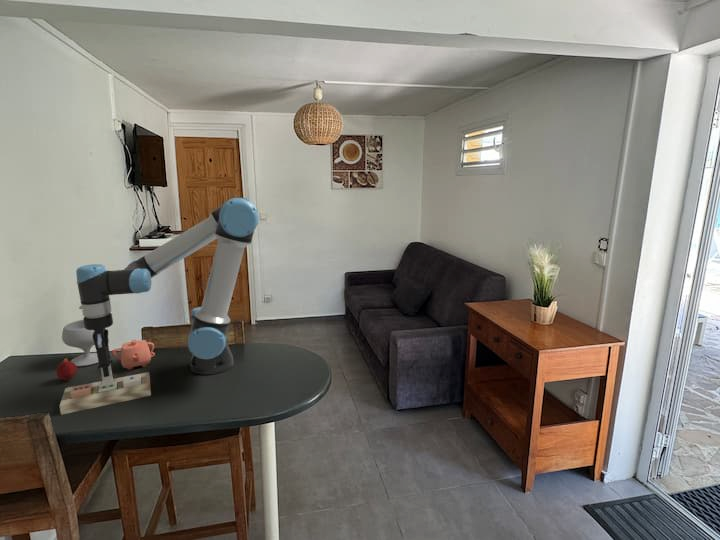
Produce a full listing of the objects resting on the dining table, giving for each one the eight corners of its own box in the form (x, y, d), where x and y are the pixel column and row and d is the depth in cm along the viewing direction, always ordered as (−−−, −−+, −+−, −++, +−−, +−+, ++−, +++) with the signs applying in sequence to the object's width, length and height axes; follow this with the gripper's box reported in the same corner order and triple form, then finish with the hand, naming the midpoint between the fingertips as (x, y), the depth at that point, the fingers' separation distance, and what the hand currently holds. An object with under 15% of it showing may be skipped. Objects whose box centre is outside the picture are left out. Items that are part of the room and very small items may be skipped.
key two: (118, 390, 136) (116, 381, 135) (117, 396, 132) (116, 387, 131) (100, 393, 134) (99, 384, 133) (99, 400, 129) (97, 391, 129)
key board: (149, 379, 143) (149, 372, 143) (150, 395, 133) (149, 387, 132) (67, 396, 132) (65, 388, 132) (61, 414, 122) (59, 405, 121)
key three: (92, 391, 132) (91, 382, 132) (91, 398, 128) (89, 389, 127) (74, 395, 130) (72, 386, 129) (72, 402, 126) (70, 393, 125)
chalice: (62, 371, 150) (55, 332, 147) (71, 356, 162) (65, 320, 159) (106, 364, 155) (101, 327, 152) (111, 350, 168) (106, 315, 165)
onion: (67, 385, 140) (64, 363, 138) (53, 383, 141) (50, 361, 139) (82, 377, 145) (79, 356, 144) (68, 375, 146) (65, 354, 145)
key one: (141, 381, 139) (140, 373, 138) (141, 388, 135) (140, 379, 134) (124, 385, 137) (123, 376, 136) (124, 391, 132) (123, 382, 132)
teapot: (137, 374, 148) (134, 349, 146) (112, 369, 151) (108, 345, 149) (161, 360, 159) (159, 337, 156) (137, 356, 162) (134, 333, 160)
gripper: (85, 310, 131) (96, 378, 136) (80, 322, 119) (92, 396, 124) (112, 307, 134) (122, 373, 139) (110, 318, 123) (121, 390, 128)
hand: (108, 384), depth 132 cm, fingers closed
